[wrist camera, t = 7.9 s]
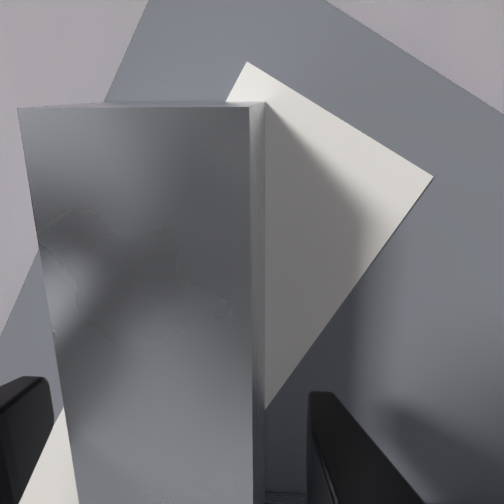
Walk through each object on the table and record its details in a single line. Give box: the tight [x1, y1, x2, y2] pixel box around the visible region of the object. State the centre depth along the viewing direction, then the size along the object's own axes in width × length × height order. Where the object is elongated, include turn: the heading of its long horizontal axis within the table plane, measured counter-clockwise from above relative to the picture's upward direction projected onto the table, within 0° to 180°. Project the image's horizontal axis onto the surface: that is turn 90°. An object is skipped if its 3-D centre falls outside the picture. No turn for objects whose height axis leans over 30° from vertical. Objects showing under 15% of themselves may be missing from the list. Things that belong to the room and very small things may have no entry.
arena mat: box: [0, 0, 504, 504], centre depth 11 cm, size 17×14×1 cm
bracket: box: [17, 101, 437, 504], centre depth 9 cm, size 12×9×3 cm
